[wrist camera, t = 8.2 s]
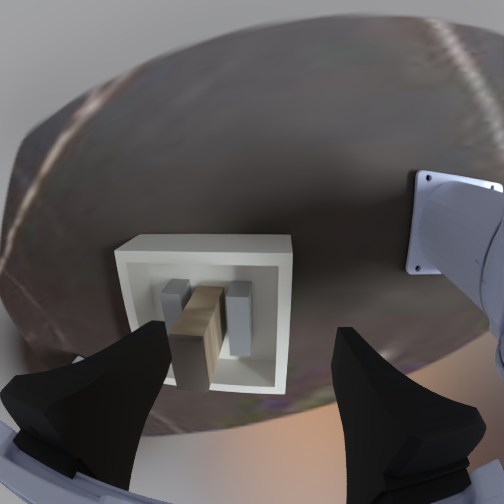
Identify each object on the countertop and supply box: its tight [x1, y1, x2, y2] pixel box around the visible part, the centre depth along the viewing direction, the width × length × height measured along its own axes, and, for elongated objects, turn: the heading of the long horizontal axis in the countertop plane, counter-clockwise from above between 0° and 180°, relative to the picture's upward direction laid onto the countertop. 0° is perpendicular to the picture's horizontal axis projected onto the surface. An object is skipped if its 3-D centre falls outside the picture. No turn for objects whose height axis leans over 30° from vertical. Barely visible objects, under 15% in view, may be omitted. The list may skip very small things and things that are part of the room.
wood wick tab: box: [168, 286, 226, 393], centre depth 19 cm, size 2×4×7 cm, turn 0°
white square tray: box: [114, 234, 293, 394], centre depth 21 cm, size 12×12×4 cm
